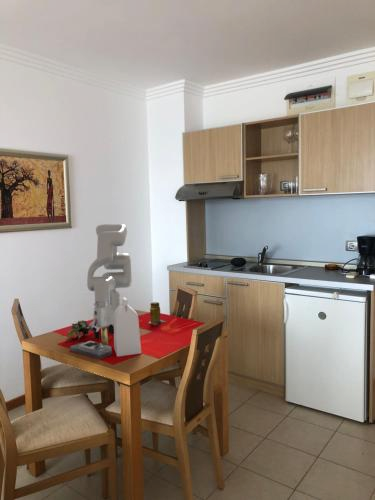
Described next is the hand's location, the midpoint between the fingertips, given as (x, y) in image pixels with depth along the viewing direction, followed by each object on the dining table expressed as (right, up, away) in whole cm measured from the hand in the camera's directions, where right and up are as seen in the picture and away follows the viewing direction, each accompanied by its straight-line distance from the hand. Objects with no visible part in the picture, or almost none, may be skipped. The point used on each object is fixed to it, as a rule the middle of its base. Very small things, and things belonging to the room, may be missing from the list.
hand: (104, 336), depth 212 cm
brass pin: (0, -4, +1) cm, 4 cm away
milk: (+13, -5, -9) cm, 17 cm away
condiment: (+24, 0, +37) cm, 44 cm away
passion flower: (-15, -4, +12) cm, 20 cm away
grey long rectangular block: (-5, -6, -10) cm, 13 cm away
